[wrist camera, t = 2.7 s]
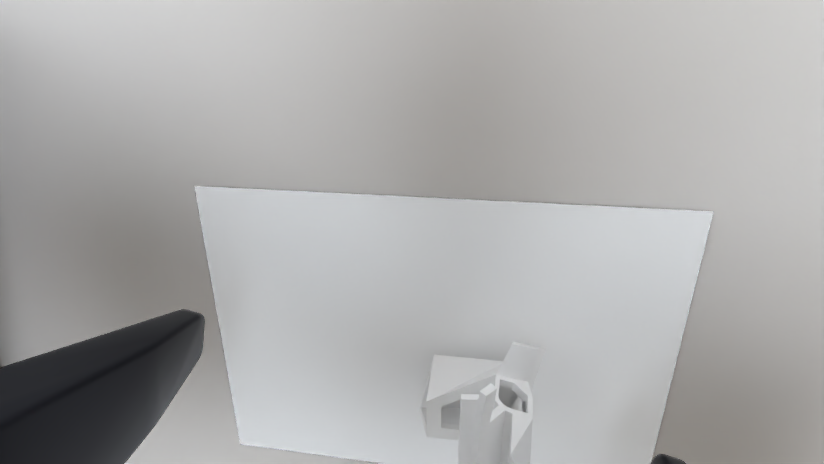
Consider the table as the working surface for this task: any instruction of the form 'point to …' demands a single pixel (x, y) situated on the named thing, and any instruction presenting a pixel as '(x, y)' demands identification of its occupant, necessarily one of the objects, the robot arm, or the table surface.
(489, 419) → the adhesive hook
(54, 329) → the table surface
